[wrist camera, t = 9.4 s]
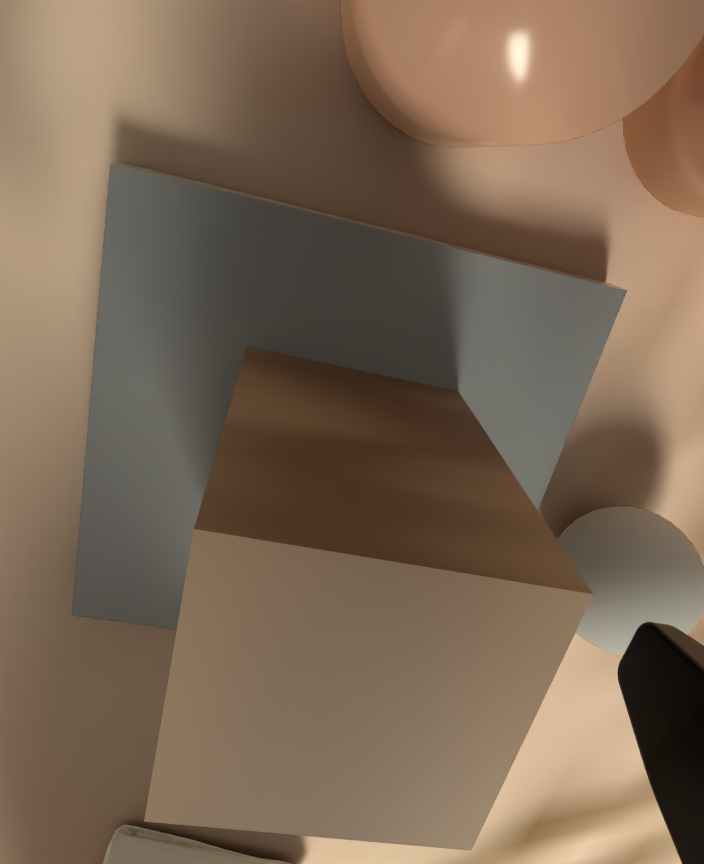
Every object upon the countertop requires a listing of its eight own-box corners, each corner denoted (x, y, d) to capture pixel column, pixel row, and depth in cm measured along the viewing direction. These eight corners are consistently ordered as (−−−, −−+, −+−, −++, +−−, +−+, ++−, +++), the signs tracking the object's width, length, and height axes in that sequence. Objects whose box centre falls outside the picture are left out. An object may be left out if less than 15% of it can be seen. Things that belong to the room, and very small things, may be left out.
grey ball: (626, 600, 15) (697, 697, 12) (510, 581, 15) (559, 678, 12) (679, 493, 14) (771, 575, 11) (556, 469, 14) (620, 548, 11)
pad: (465, 645, 15) (474, 671, 15) (84, 591, 14) (71, 617, 13) (607, 282, 12) (628, 291, 11) (123, 162, 11) (109, 163, 10)
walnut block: (458, 391, 12) (593, 594, 6) (401, 564, 13) (471, 850, 8) (246, 346, 11) (193, 528, 6) (212, 534, 13) (144, 821, 7)
